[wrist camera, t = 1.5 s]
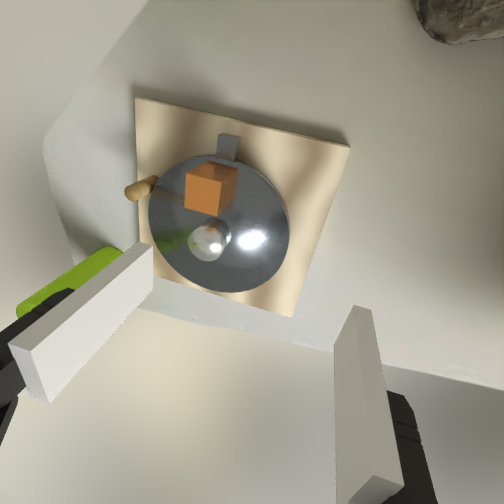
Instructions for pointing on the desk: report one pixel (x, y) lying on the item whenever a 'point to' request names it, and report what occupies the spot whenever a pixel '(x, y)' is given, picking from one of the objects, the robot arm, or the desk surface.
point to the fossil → (461, 19)
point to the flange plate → (220, 220)
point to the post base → (259, 156)
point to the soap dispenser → (72, 278)
